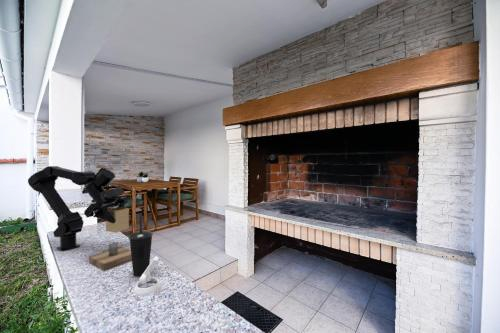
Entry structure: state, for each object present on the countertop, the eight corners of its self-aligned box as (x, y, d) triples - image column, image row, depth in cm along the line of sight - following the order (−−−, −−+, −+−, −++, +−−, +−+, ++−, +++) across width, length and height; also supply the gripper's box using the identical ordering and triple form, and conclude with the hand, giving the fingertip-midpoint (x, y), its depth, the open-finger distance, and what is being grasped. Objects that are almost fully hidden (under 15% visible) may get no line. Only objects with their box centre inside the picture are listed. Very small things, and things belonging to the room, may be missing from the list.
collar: (105, 231, 92) (105, 209, 92) (118, 227, 98) (118, 207, 98) (116, 232, 90) (116, 211, 90) (128, 228, 96) (128, 208, 96)
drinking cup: (158, 270, 78) (157, 214, 78) (141, 280, 71) (140, 219, 70) (141, 266, 80) (141, 213, 80) (123, 277, 73) (122, 218, 73)
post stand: (89, 262, 84) (88, 246, 84) (121, 252, 94) (120, 237, 94) (104, 270, 77) (103, 252, 77) (136, 258, 88) (136, 242, 87)
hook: (170, 278, 63) (148, 267, 61) (148, 307, 64) (126, 297, 63) (176, 261, 70) (157, 250, 68) (156, 288, 71) (137, 278, 70)
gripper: (90, 183, 85) (114, 213, 83) (125, 180, 104) (146, 204, 102) (73, 202, 87) (96, 231, 85) (111, 195, 105) (131, 219, 103)
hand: (120, 220), depth 94 cm, fingers closed on collar, 6 cm apart
